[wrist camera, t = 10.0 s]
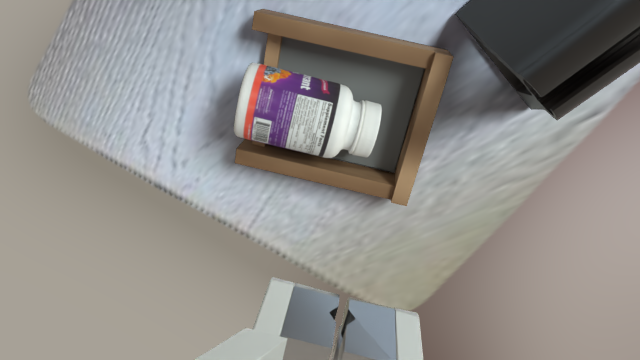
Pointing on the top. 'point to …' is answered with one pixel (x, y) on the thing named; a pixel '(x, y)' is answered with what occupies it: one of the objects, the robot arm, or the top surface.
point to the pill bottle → (304, 113)
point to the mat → (362, 90)
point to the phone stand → (557, 46)
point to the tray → (366, 44)
